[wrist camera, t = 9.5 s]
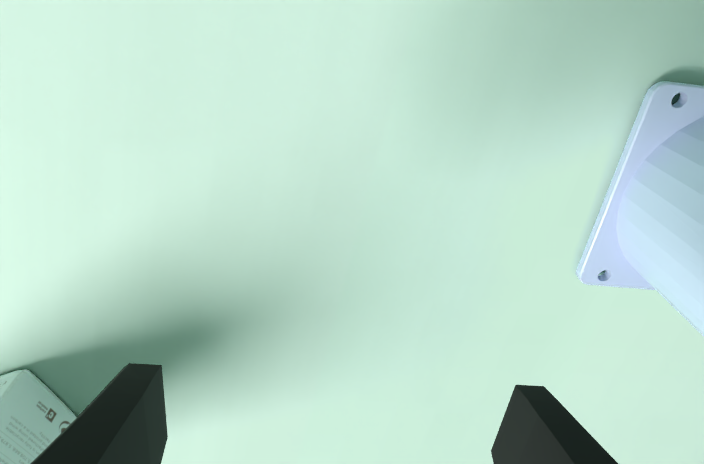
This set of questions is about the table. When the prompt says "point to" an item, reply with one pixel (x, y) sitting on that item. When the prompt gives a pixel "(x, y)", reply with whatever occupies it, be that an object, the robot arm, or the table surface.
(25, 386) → the skincare box
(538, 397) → the robot arm
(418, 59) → the table surface
